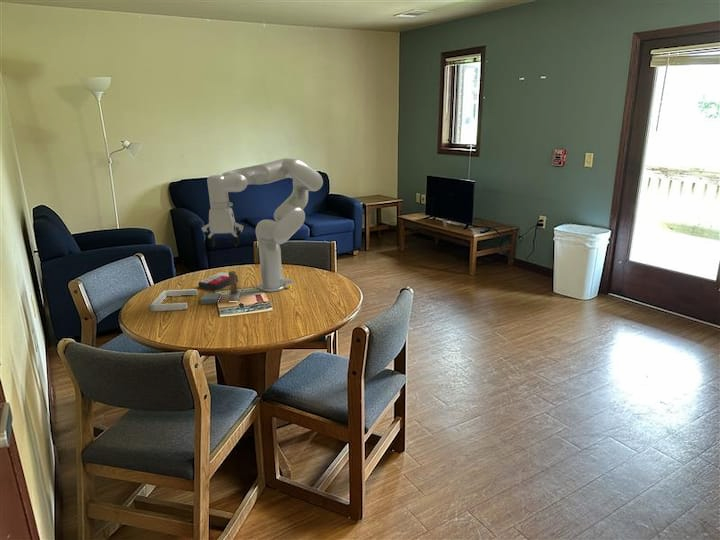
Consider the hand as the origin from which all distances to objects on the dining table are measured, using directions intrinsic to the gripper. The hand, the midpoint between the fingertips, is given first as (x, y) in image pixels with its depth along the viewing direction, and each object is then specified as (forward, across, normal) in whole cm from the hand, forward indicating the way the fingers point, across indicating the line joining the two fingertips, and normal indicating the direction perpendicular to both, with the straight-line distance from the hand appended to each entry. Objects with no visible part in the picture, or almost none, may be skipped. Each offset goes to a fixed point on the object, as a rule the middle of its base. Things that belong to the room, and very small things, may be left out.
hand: (224, 246), depth 209 cm
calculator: (+24, +11, -20) cm, 33 cm away
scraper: (+24, -2, +1) cm, 24 cm away
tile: (+24, +8, +2) cm, 25 cm away
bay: (+23, +23, +4) cm, 33 cm away
